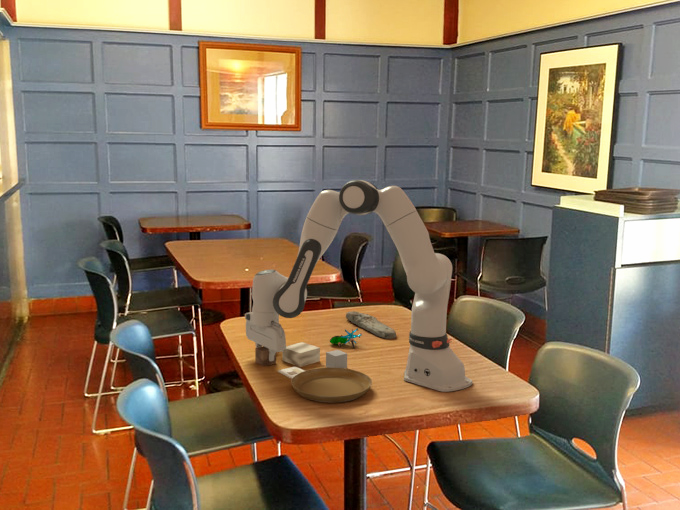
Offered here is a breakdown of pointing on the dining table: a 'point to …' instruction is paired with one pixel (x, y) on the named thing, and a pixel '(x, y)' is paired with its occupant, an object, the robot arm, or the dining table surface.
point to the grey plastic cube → (336, 359)
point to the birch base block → (301, 354)
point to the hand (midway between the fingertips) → (265, 358)
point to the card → (291, 371)
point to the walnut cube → (263, 356)
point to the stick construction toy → (345, 338)
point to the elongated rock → (371, 324)
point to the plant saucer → (331, 384)
